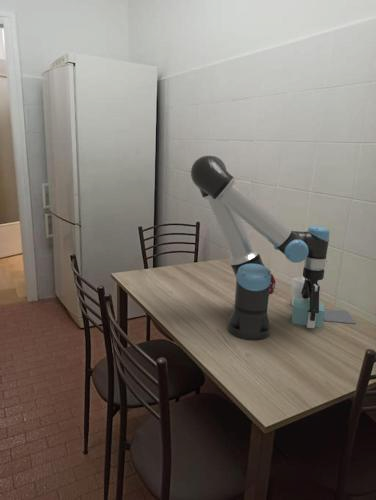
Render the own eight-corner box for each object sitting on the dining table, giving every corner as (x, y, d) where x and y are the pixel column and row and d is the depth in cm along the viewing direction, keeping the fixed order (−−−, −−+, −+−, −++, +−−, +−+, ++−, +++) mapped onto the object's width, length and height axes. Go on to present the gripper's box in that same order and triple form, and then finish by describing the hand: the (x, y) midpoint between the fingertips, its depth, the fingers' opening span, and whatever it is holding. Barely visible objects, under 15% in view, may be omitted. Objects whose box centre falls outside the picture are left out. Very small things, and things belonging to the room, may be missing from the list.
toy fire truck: (276, 294, 168) (279, 273, 166) (250, 294, 167) (253, 272, 164) (272, 288, 175) (274, 268, 172) (247, 288, 174) (249, 267, 171)
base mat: (356, 324, 141) (356, 323, 140) (324, 321, 142) (324, 320, 142) (346, 311, 152) (346, 310, 152) (317, 309, 153) (317, 308, 153)
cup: (308, 303, 159) (312, 277, 156) (312, 311, 150) (317, 284, 147) (287, 301, 160) (291, 275, 157) (290, 309, 151) (294, 281, 148)
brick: (321, 328, 136) (324, 311, 134) (291, 323, 139) (293, 306, 137) (320, 318, 144) (322, 302, 143) (291, 314, 147) (294, 298, 145)
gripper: (333, 278, 124) (324, 335, 129) (317, 259, 147) (310, 308, 153) (310, 277, 125) (303, 333, 130) (298, 258, 148) (292, 307, 154)
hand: (307, 320), depth 141 cm, fingers open, 12 cm apart
